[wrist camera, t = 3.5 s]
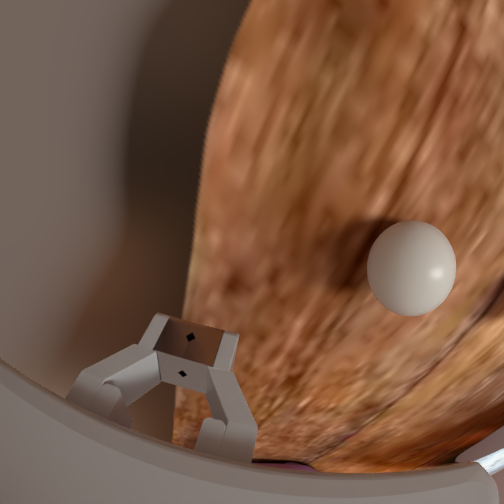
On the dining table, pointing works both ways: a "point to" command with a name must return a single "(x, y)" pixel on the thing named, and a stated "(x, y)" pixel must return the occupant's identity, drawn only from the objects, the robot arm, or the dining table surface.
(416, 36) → the dining table surface
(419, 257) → the cue ball
